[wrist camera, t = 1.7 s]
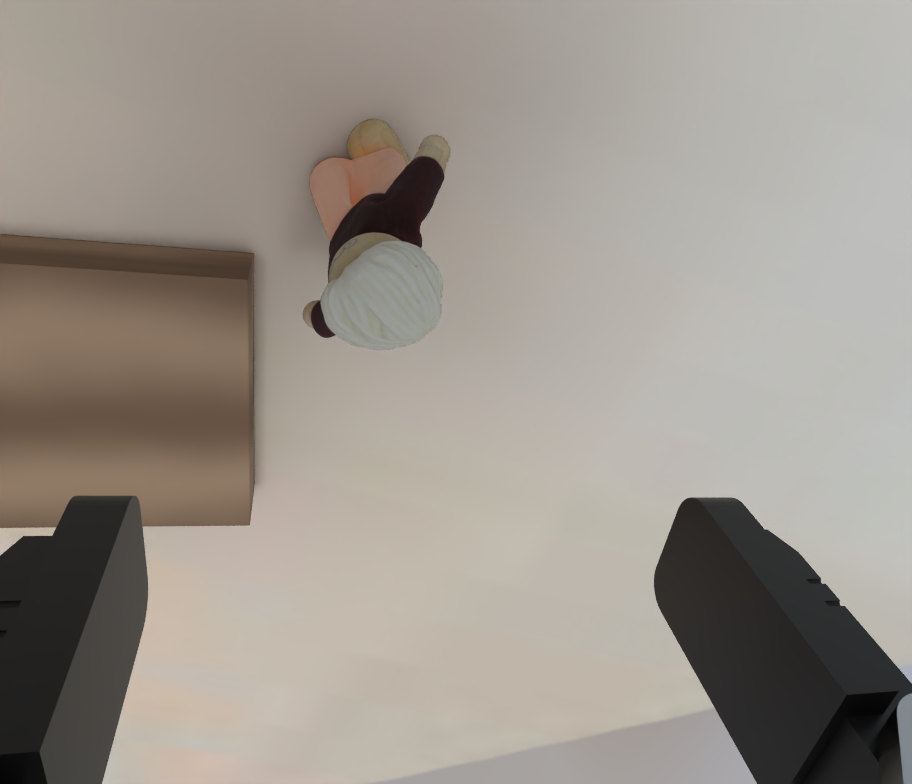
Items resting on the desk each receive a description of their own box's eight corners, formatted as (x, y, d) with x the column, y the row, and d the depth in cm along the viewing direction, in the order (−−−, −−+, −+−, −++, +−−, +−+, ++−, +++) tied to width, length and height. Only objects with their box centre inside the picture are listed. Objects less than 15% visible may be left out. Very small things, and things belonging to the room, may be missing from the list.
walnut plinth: (-80, 228, 26) (-123, 254, 23) (253, 253, 28) (247, 279, 26) (-18, 484, 31) (-47, 528, 29) (254, 485, 34) (249, 525, 32)
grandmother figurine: (348, 74, 26) (373, 136, 15) (439, 120, 27) (522, 208, 16) (277, 255, 29) (255, 418, 18) (362, 289, 30) (389, 458, 19)
